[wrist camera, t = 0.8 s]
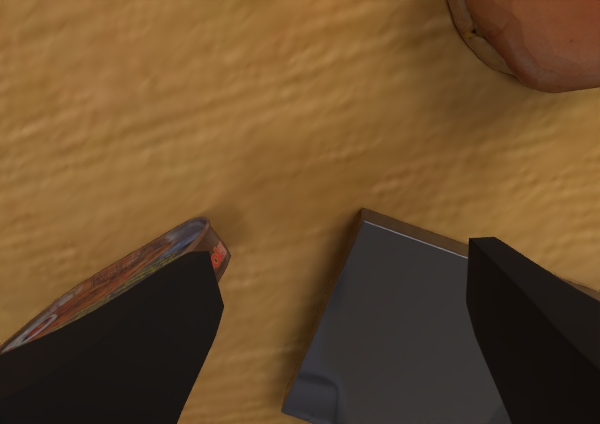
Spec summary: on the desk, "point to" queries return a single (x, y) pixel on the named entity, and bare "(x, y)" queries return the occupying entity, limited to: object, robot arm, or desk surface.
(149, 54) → the desk surface
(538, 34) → the burger
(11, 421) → the robot arm
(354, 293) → the stove
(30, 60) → the desk surface
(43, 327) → the tin
